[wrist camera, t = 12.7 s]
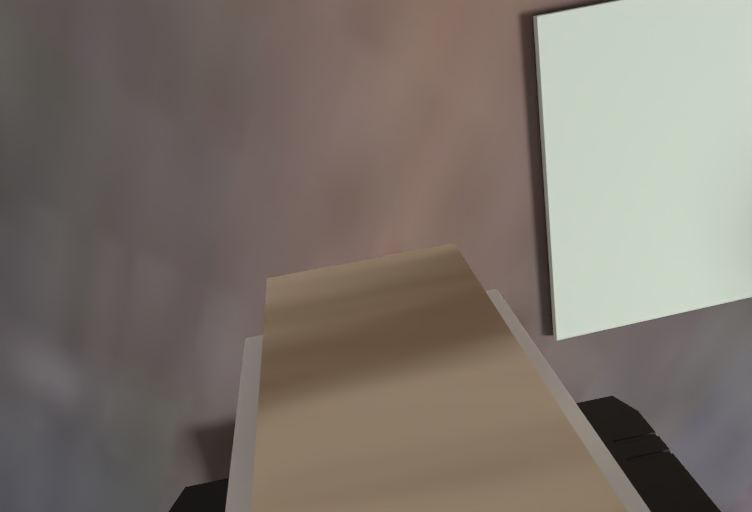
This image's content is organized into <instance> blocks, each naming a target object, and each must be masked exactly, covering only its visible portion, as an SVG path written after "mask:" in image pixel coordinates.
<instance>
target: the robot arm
mask: <svg viewBox="0 0 752 512" xmlns="http://www.w3.org/2000/svg"><path fill="white" fill-rule="evenodd" d="M485 292H486V293H487V295H488V296H489V298H490V299H491V301H492V302H493V304H494V306H495V307H496V309H497V310H498V312H499V313H500V315H501V316H502V318H503V319H504V321H505V323H506V324H507V326H508V327H509V329H510V330H511V332H512V333H513V335H514V337H515V338H516V340H517V341H518V343H519V344H520V346H521V347H522V349H523V350H524V352H525V354H526V355H527V357H528V358H529V360H530V361H531V363H532V364H533V366H534V367H535V369H536V371H537V372H538V374H539V375H540V377H541V378H542V380H543V381H544V383H545V385H546V386H547V388H548V389H549V391H550V392H551V394H552V395H553V397H554V398H555V400H556V402H557V403H558V405H559V406H560V408H561V409H562V411H563V412H564V414H565V415H566V417H567V419H568V420H569V422H570V423H571V425H572V426H573V428H574V429H575V431H576V432H577V434H578V436H579V437H580V439H581V440H582V442H583V443H584V445H585V446H586V448H587V450H588V451H589V453H590V454H591V456H592V457H593V459H594V460H595V462H596V463H597V465H598V467H599V468H600V470H601V471H602V473H603V474H604V476H605V477H606V479H607V480H608V482H609V484H610V485H611V487H612V488H613V490H614V491H615V493H616V494H617V496H618V498H619V499H620V501H621V502H622V504H623V505H624V507H625V508H626V510H627V511H628V512H721V511H720V510H719V509H718V508H717V506H716V505H715V504H714V503H713V502H712V500H711V499H710V498H709V497H708V495H707V494H706V493H705V492H704V491H703V489H702V488H701V487H700V486H699V485H698V483H697V482H696V481H695V480H694V478H693V477H692V476H691V475H690V474H689V472H688V471H687V470H686V469H685V468H684V466H683V465H682V464H681V463H680V461H679V460H678V459H677V458H676V457H675V455H674V454H671V453H670V451H669V448H668V447H667V446H666V444H665V443H664V442H663V441H662V440H661V438H660V437H659V436H656V434H655V431H654V430H653V429H652V427H651V426H650V425H649V424H648V423H647V421H646V420H645V419H644V418H643V417H642V415H641V414H640V413H639V412H638V411H637V410H635V409H634V408H632V407H630V406H629V405H627V404H625V403H624V402H622V401H620V400H619V399H617V398H615V397H614V396H609V397H604V398H600V399H595V400H590V401H585V402H580V403H575V401H574V400H573V398H572V397H571V395H570V394H569V392H568V391H567V390H566V388H565V387H564V385H563V384H562V382H561V381H560V379H559V378H558V377H557V375H556V374H555V372H554V371H553V369H552V368H551V366H550V365H549V363H548V362H547V361H546V359H545V358H544V356H543V355H542V353H541V352H540V350H539V349H538V348H537V346H536V345H535V343H534V342H533V340H532V339H531V337H530V336H529V335H528V333H527V332H526V330H525V329H524V327H523V326H522V324H521V323H520V322H519V320H518V319H517V317H516V316H515V314H514V313H513V311H512V310H511V308H510V307H509V306H508V304H507V303H506V301H505V300H504V298H503V297H502V295H501V294H500V293H499V291H498V290H497V289H493V290H488V291H485ZM262 342H263V335H260V336H255V337H250V338H245V344H244V353H243V361H242V370H241V379H240V387H239V396H238V405H237V413H236V422H235V431H234V439H233V448H232V456H231V465H230V474H229V478H227V479H223V480H218V481H213V482H208V483H203V484H199V485H194V486H189V487H185V489H184V490H183V491H182V493H181V494H180V496H179V497H178V499H177V500H176V502H175V503H174V505H173V506H172V508H171V509H170V511H169V512H251V499H252V485H253V471H254V456H255V442H256V428H257V413H258V399H259V385H260V370H261V356H262Z"/></svg>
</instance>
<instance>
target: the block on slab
mask: <svg viewBox="0 0 752 512" xmlns="http://www.w3.org/2000/svg"><path fill="white" fill-rule="evenodd" d="M251 512H628V511H627V510H626V508H625V507H624V505H623V504H622V502H621V501H620V499H619V498H618V496H617V494H616V493H615V491H614V490H613V488H612V487H611V485H610V484H609V482H608V480H607V479H606V477H605V476H604V474H603V473H602V471H601V470H600V468H599V467H598V465H597V463H596V462H595V460H594V459H593V457H592V456H591V454H590V453H589V451H588V450H587V448H586V446H585V445H584V443H583V442H582V440H581V439H580V437H579V436H578V434H577V432H576V431H575V429H574V428H573V426H572V425H571V423H570V422H569V420H568V419H567V417H566V415H565V414H564V412H563V411H562V409H561V408H560V406H559V405H558V403H557V402H556V400H555V398H554V397H553V395H552V394H551V392H550V391H549V389H548V388H547V386H546V385H545V383H544V381H543V380H542V378H541V377H540V375H539V374H538V372H537V371H536V369H535V367H534V366H533V364H532V363H531V361H530V360H529V358H528V357H527V355H526V354H525V352H524V350H523V349H522V347H521V346H520V344H519V343H518V341H517V340H516V338H515V337H514V335H513V333H512V332H511V330H510V329H509V327H508V326H507V324H506V323H505V321H504V319H503V318H502V316H501V315H500V313H499V312H498V310H497V309H496V307H495V306H494V304H493V302H492V301H491V299H490V298H489V296H488V295H487V293H486V292H485V290H484V289H483V287H482V285H481V284H480V282H479V281H478V279H477V278H476V276H475V275H474V273H473V272H472V270H471V268H470V267H469V265H468V264H467V262H466V261H465V259H464V258H463V256H462V254H461V253H460V251H459V250H458V248H457V247H456V245H455V244H454V243H449V244H444V245H439V246H434V247H429V248H423V249H418V250H413V251H408V252H403V253H397V254H392V255H387V256H382V257H376V258H371V259H366V260H361V261H356V262H350V263H345V264H340V265H335V266H329V267H324V268H319V269H314V270H309V271H303V272H298V273H293V274H288V275H283V276H277V277H272V278H267V284H266V299H265V313H264V327H263V342H262V356H261V370H260V385H259V399H258V413H257V428H256V442H255V456H254V471H253V485H252V499H251Z"/></svg>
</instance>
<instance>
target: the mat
mask: <svg viewBox="0 0 752 512" xmlns="http://www.w3.org/2000/svg"><path fill="white" fill-rule="evenodd" d="M533 22H534V38H535V54H536V69H537V85H538V101H539V117H540V132H541V148H542V164H543V180H544V195H545V211H546V227H547V243H548V258H549V274H550V290H551V305H552V321H553V336H554V337H555V339H556V340H561V339H566V338H570V337H574V336H579V335H583V334H588V333H592V332H597V331H601V330H606V329H610V328H615V327H619V326H624V325H628V324H633V323H637V322H642V321H646V320H651V319H655V318H660V317H664V316H668V315H673V314H677V313H682V312H686V311H691V310H695V309H700V308H704V307H709V306H713V305H718V304H722V303H727V302H731V301H736V300H740V299H745V298H749V297H752V0H614V1H609V2H604V3H599V4H594V5H588V6H583V7H578V8H573V9H567V10H562V11H557V12H552V13H547V14H541V15H536V16H533Z"/></svg>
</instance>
